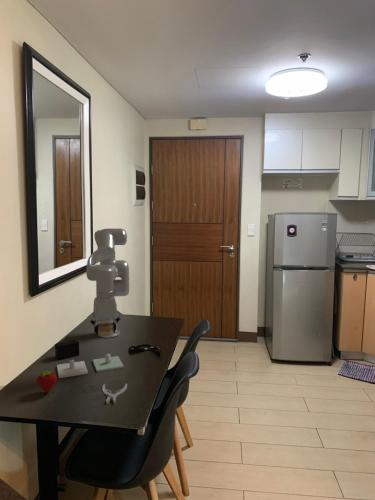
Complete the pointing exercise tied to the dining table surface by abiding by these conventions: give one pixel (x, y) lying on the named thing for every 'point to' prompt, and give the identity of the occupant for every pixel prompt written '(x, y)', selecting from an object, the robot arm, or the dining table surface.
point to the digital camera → (66, 349)
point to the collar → (105, 329)
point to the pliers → (113, 396)
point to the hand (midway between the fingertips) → (105, 332)
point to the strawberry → (46, 380)
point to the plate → (107, 363)
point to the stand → (71, 369)
